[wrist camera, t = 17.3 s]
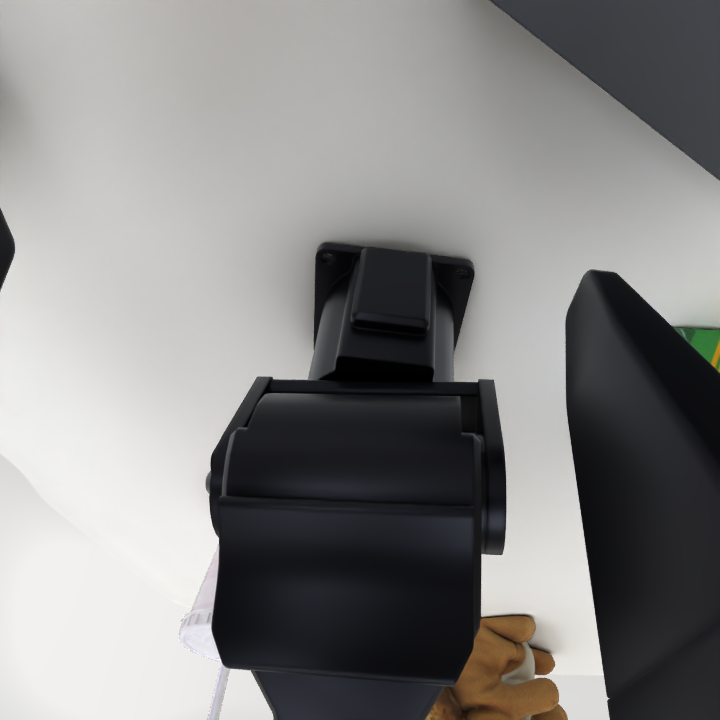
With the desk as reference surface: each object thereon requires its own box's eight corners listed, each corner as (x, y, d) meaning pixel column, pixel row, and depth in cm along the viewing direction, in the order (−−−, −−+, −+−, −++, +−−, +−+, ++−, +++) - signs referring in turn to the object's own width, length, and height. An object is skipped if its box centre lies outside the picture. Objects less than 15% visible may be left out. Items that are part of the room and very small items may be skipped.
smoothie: (299, 464, 37) (248, 723, 27) (329, 516, 41) (294, 756, 32) (204, 470, 39) (125, 718, 29) (243, 520, 43) (185, 750, 33)
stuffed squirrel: (560, 656, 56) (581, 836, 47) (410, 654, 60) (403, 820, 51) (555, 613, 49) (578, 813, 40) (386, 614, 53) (373, 798, 44)
